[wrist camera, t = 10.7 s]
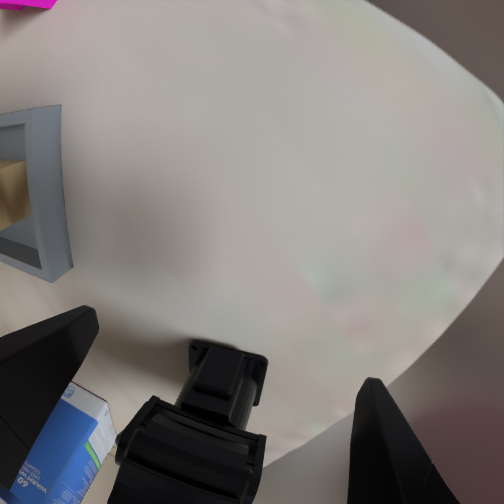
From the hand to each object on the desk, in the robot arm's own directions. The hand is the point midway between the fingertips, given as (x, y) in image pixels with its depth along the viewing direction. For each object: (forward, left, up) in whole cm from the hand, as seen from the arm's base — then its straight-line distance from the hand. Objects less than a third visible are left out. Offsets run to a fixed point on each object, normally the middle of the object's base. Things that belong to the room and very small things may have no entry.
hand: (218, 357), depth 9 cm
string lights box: (-34, +22, -11) cm, 42 cm away
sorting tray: (0, +24, -11) cm, 26 cm away
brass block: (0, +24, -10) cm, 26 cm away
